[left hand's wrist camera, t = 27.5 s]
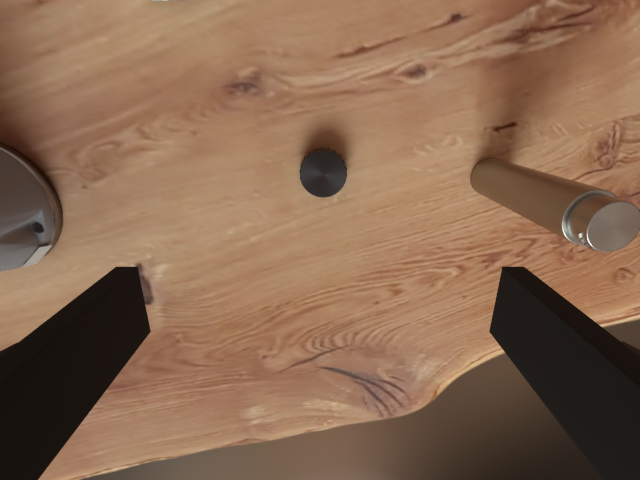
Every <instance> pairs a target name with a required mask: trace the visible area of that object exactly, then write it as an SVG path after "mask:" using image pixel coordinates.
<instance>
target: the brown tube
mask: <svg viewBox="0 0 640 480" xmlns="http://www.w3.org/2000/svg"><path fill="white" fill-rule="evenodd" d="M470 181H471V185H472V187H473V189H474V190H475V191H476V192H478V193H480V194H482V195H483V196H485V197H487V198H489V199H491V200H493V201H495V202H497V203H498V204H500V205H502V206H504V207H506V208H508V209H510V210H512V211H514V212H515V213H517V214H519V215H521V216H523V217H525V218H527V219H529V220H531V221H532V222H534V223H536V224H538V225H540V226H542V227H544V228H546V229H547V230H549V231H551V232H553V233H555V234H557V235H559V236H561V237H563V238H564V239H566V240H568V241H570V242H572V243H574V244H578V245H585V246H586V247H588V248H590V249H593V250H596V251H602V252H611V251H615V250H618V249H621V248H623V247H625V246H626V245H628V244H629V243H630V242H631V241H632V240H633V239H634V238H635V237H636V236H637V234H638V232H639V230H640V210H639V209H638V207H637V206H635V205H634V204H633V203H630V202H627V201H624V200H621V199H618V198H617V196H616V195H615V194H613V193H612V192H610V191H607V190H604V189H600V188H597V187H593V186H590V185H586V184H583V183H579V182H576V181H572V180H569V179H565V178H562V177H558V176H555V175H551V174H548V173H544V172H541V171H537V170H534V169H530V168H527V167H523V166H519V165H516V164H512V163H509V162H505V161H502V160H498V159H494V158H490V159H485V160H483V161H481V162H480V163H478V164H477V165H476V166H475V168H474V169H473V171H472V173H471V178H470Z"/></svg>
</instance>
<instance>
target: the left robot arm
mask: <svg viewBox="0 0 640 480" xmlns="http://www.w3.org/2000/svg"><path fill="white" fill-rule="evenodd" d="M61 228H62V213H61V208H60V204H59V201H58V198H57V195H56V193H55V191H54V189H53V187H52V186H51V184H50V182H49V181H48V179H47V178H46V177H45V175H44V174H43V173H42V172H41V171H40V169H39V168H38V167H37V166H36V165H35V164H34V163H32V162H31V161H30V160H29V159H28V158H26V157H25V156H24V155H22V154H21V153H19V152H18V151H16V150H14V149H12V148H11V147H9V146H7V145H4V144H2V143H0V271H6V270H12V269H16V268H19V267H25V266H30V265H35V264H37V263H38V261H39V260H40V259H41V258H42V257H43V256H45V255H46V254H47V253H49V252H50V251H51V250H52V248H53V247H54V246H55V244H56V243H57V241H58V239H59V236H60V233H61ZM149 333H150V327H149V322H148V317H147V312H146V307H145V302H144V297H143V292H142V287H141V282H140V277H139V272H138V267H115V268H114V269H113V270H111V271H110V272H109V273H108V274H106V275H105V276H104V277H102V278H101V279H100V280H99V281H97V282H96V283H95V284H93V285H92V286H91V287H90V288H88V289H87V290H86V291H84V292H83V293H82V294H81V295H79V296H78V297H77V298H75V299H74V300H73V301H71V302H70V303H69V304H68V305H66V306H65V307H64V308H62V309H61V310H60V311H59V312H57V313H56V314H55V315H53V316H52V317H51V318H50V319H48V320H47V321H46V322H44V323H43V324H42V325H41V326H39V327H38V328H37V329H35V330H34V331H33V332H32V333H30V334H29V335H28V336H26V337H25V338H24V339H22V340H21V341H20V342H19V343H16V344H14V345H12V346H10V347H8V348H6V349H4V350H2V351H0V480H38V479H39V478H40V476H41V475H42V474H43V472H44V471H45V470H46V468H47V467H48V466H49V464H50V463H51V462H52V460H53V459H54V458H55V457H56V455H57V454H58V453H59V451H60V450H61V449H62V447H63V446H64V445H65V443H66V442H67V441H68V439H69V438H70V437H71V435H72V434H73V433H74V432H75V430H76V429H77V428H78V426H79V425H80V424H81V422H82V421H83V420H84V418H85V417H86V416H87V414H88V413H89V412H90V411H91V409H92V408H93V407H94V405H95V404H96V403H97V401H98V400H99V399H100V397H101V396H102V395H103V393H104V392H105V391H106V389H107V388H108V387H109V386H110V384H111V383H112V382H113V380H114V379H115V378H116V376H117V375H118V374H119V372H120V371H121V370H122V368H123V367H124V366H125V364H126V363H127V362H128V361H129V359H130V358H131V357H132V355H133V354H134V353H135V351H136V350H137V349H138V347H139V346H140V345H141V343H142V342H143V341H144V340H145V338H146V337H147V336H148V334H149ZM490 333H491V334H492V336H493V337H494V338H495V340H496V341H497V342H498V343H499V345H500V346H501V347H502V349H503V350H504V351H505V353H506V354H507V355H508V357H509V358H510V359H511V361H512V362H513V363H514V364H515V366H516V367H517V368H518V370H519V371H520V372H521V374H522V375H523V376H524V378H525V379H526V380H527V382H528V383H529V384H530V386H531V387H532V388H533V389H534V391H535V392H536V393H537V395H538V396H539V397H540V399H541V400H542V401H543V403H544V404H545V405H546V407H547V408H548V409H549V410H550V412H551V413H552V414H553V416H554V417H555V418H556V420H557V421H558V422H559V424H560V425H561V426H562V428H563V429H564V430H565V431H566V433H567V434H568V435H569V437H570V438H571V439H572V441H573V442H574V443H575V445H576V446H577V447H578V449H579V450H580V451H581V453H582V454H583V455H584V457H585V458H586V459H587V460H588V462H589V463H590V464H591V466H592V467H593V468H594V470H595V471H596V472H597V474H598V475H599V476H600V478H601V479H602V480H640V350H639V349H637V348H635V347H633V346H631V345H629V344H627V343H625V342H620V341H619V340H617V339H616V338H615V337H614V336H612V335H611V334H610V333H608V332H607V331H606V330H605V329H603V328H602V327H601V326H599V325H598V324H597V323H596V322H594V321H593V320H592V319H590V318H589V317H588V316H587V315H585V314H584V313H583V312H581V311H580V310H579V309H578V308H576V307H575V306H574V305H572V304H571V303H570V302H569V301H567V300H566V299H565V298H563V297H562V296H561V295H559V294H558V293H557V292H556V291H554V290H553V289H552V288H550V287H549V286H548V285H547V284H545V283H544V282H543V281H541V280H540V279H539V278H538V277H536V276H535V275H534V274H532V273H531V272H530V271H529V270H527V269H526V268H525V267H502V272H501V277H500V282H499V287H498V292H497V297H496V302H495V307H494V312H493V317H492V322H491V327H490Z"/></svg>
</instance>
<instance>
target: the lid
mask: <svg viewBox="0 0 640 480" xmlns="http://www.w3.org/2000/svg"><path fill="white" fill-rule="evenodd" d="M344 163H345V162H344V160H342V158H341V156H340V155H338V154H337V153H336V152H335V151H333V150H330V149H329V148H328V149H326V148H321V149H315V150H314V151H312V152H309V154H308V155H307V156H306V157H304V160H303V163H301V169H300V179H301V182H302V185H303V186H304V188H305V189H306V190H307V191H308V192H309V193H310V194H312V195H314V196H317V197H329V196H332V195H334V194H336V193H337V192H339V191H340V190H341V188H342V187H343V186H344V184H345V181H346V176H347V171H346V169H347V168H346V166H345V164H344Z"/></svg>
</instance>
